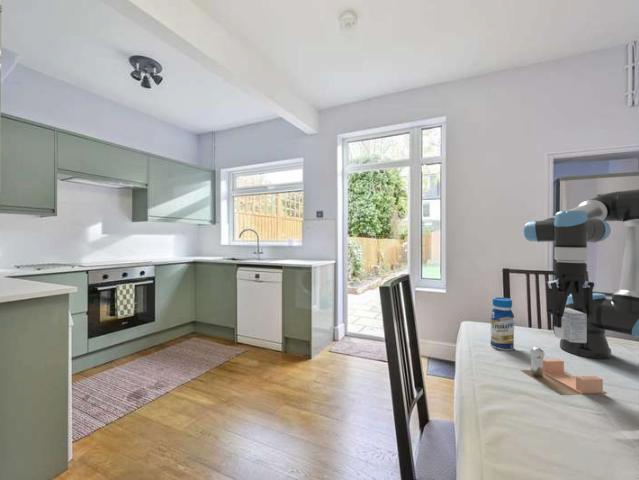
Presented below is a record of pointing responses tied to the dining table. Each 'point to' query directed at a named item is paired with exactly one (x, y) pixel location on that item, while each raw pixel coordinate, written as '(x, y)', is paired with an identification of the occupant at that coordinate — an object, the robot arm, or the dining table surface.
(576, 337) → the medicine box
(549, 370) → the end holder
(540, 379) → the board
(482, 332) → the dining table surface
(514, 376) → the dining table surface
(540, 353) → the light bulb
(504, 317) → the beverage bottle
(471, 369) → the dining table surface
